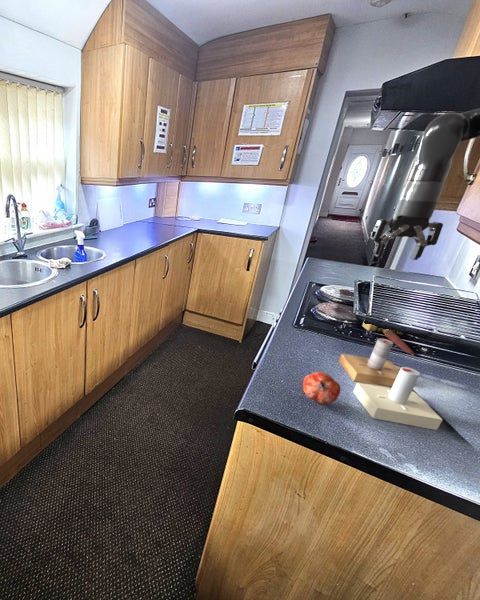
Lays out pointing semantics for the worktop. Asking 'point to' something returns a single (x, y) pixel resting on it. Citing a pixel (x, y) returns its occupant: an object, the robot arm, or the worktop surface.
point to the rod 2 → (403, 385)
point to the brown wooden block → (369, 371)
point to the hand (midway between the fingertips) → (395, 257)
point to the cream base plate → (396, 407)
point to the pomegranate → (321, 388)
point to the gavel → (390, 336)
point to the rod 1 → (380, 354)
